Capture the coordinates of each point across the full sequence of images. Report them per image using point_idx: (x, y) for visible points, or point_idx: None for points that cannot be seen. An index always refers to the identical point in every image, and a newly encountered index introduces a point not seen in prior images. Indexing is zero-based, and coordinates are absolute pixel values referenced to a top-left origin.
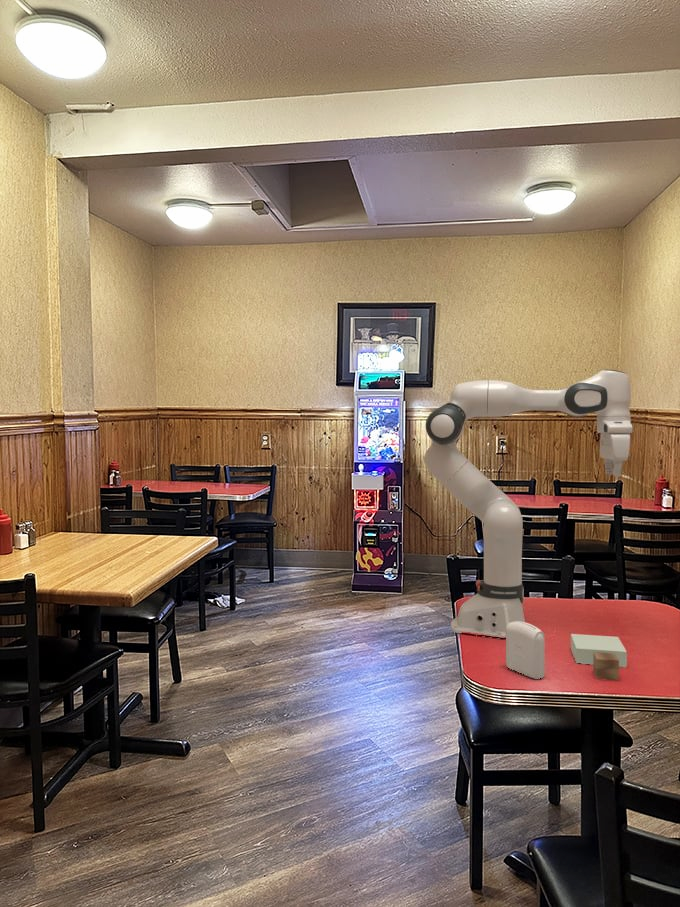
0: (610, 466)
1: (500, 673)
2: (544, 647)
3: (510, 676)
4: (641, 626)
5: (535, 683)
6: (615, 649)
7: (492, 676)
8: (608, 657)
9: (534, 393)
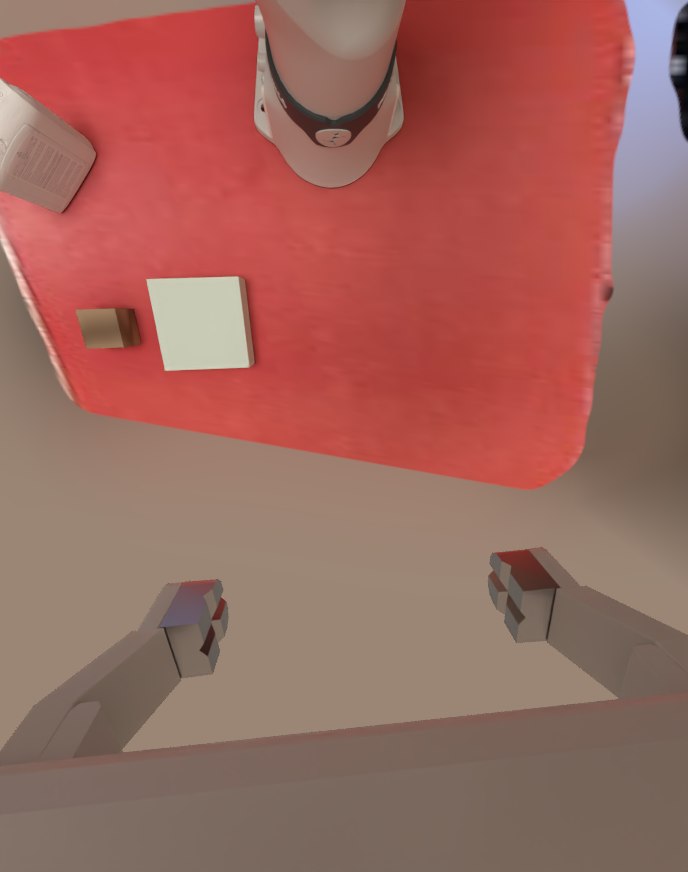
0: (572, 642)
1: None
2: (17, 196)
3: None
4: (412, 423)
5: None
6: (170, 352)
7: None
8: (94, 332)
9: None
